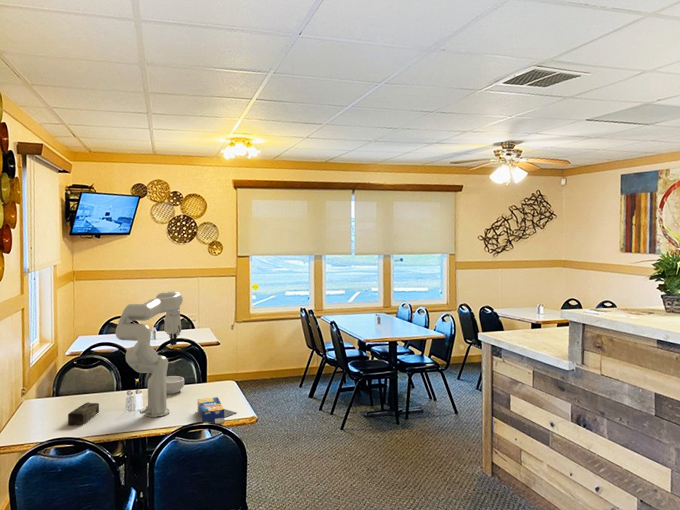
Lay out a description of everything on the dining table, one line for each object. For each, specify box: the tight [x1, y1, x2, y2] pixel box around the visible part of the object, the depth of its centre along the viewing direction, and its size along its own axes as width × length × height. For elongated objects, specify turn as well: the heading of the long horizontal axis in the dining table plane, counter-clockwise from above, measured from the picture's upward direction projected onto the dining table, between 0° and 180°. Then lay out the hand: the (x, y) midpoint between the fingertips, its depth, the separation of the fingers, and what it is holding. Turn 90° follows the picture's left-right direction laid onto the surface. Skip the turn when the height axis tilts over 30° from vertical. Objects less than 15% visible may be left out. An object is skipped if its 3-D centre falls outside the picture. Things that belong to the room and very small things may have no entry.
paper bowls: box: [166, 375, 185, 395], centre depth 330 cm, size 15×15×8 cm
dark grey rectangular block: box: [67, 402, 100, 426], centre depth 280 cm, size 8×19×7 cm, turn 0°
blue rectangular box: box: [197, 396, 225, 424], centre depth 285 cm, size 7×11×22 cm
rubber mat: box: [224, 408, 237, 419], centre depth 289 cm, size 12×12×1 cm
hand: (173, 344), depth 309 cm, fingers closed
